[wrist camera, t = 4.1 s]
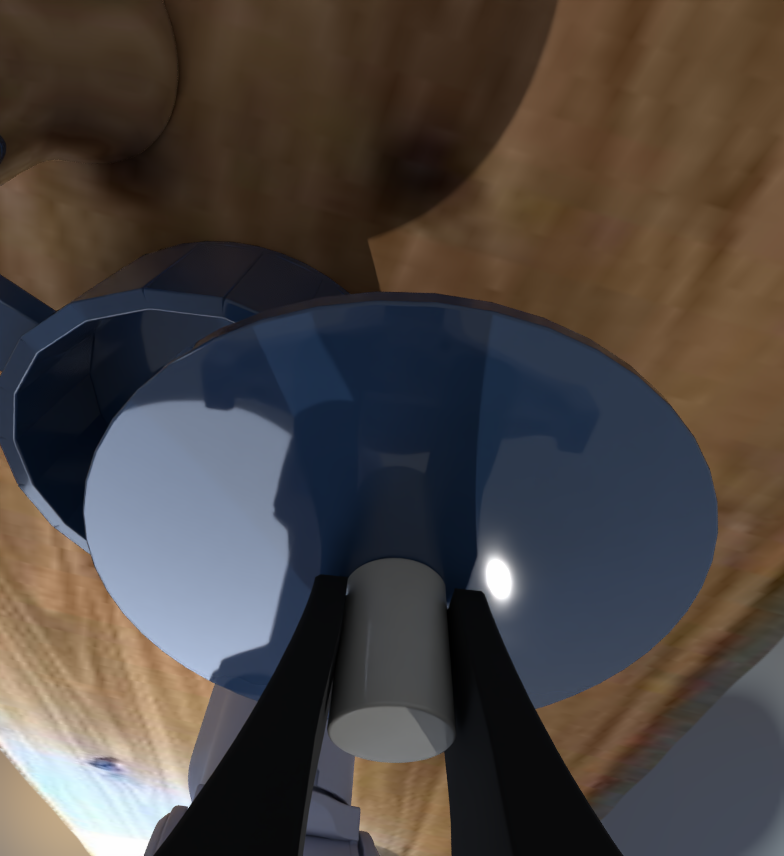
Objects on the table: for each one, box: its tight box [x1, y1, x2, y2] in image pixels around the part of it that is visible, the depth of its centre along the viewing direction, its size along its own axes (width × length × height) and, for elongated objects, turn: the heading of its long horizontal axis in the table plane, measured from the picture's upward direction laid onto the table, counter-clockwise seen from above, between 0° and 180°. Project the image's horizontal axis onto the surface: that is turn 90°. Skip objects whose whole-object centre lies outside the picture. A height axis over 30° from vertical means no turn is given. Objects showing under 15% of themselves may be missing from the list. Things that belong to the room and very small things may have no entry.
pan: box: [0, 241, 349, 555], centre depth 18 cm, size 13×19×5 cm
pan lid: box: [83, 292, 718, 763], centre depth 11 cm, size 14×14×4 cm
